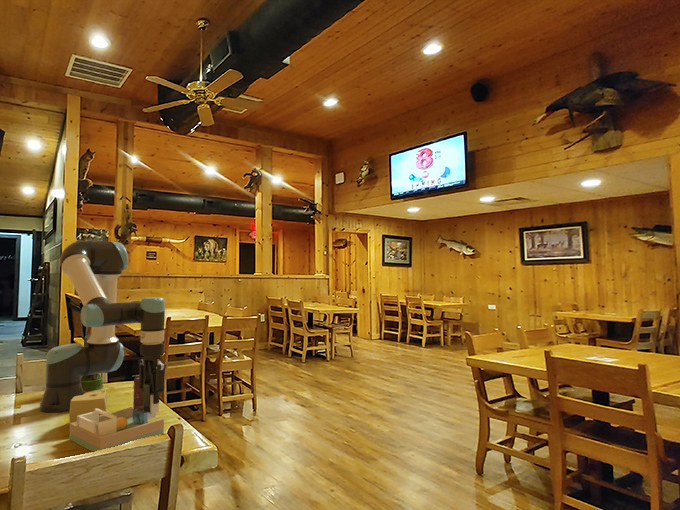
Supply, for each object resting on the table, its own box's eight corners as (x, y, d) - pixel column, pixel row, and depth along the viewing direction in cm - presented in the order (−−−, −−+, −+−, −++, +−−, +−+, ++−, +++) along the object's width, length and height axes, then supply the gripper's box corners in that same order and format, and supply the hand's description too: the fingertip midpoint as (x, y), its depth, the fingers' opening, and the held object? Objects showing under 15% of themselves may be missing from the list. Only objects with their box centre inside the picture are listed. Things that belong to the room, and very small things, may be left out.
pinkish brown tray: (69, 439, 139) (69, 423, 139) (131, 421, 155) (131, 407, 155) (100, 455, 127) (100, 438, 127) (163, 434, 143) (163, 419, 143)
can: (145, 418, 158) (145, 379, 158) (129, 417, 159) (130, 378, 160) (155, 413, 164) (156, 375, 164) (140, 412, 165) (141, 374, 166)
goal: (76, 435, 137) (77, 413, 137) (96, 429, 142) (97, 408, 142) (95, 445, 130) (96, 421, 130) (116, 438, 135) (116, 416, 135)
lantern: (109, 388, 196) (111, 320, 197) (84, 393, 188) (86, 323, 189) (94, 383, 205) (95, 318, 205) (69, 388, 196) (71, 320, 197)
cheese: (73, 421, 155) (74, 392, 155) (108, 417, 159) (108, 389, 159) (68, 431, 145) (69, 401, 145) (105, 427, 149) (106, 397, 150)
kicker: (132, 421, 149) (133, 384, 149) (149, 416, 154) (150, 380, 154) (143, 425, 145) (144, 388, 145) (161, 420, 150) (161, 384, 150)
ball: (111, 430, 141) (111, 417, 141) (123, 426, 145) (123, 414, 145) (117, 433, 139) (117, 420, 139) (129, 429, 142) (130, 416, 142)
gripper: (128, 341, 153) (127, 409, 152) (155, 347, 143) (154, 419, 142) (149, 338, 159) (147, 404, 158) (176, 343, 149) (175, 413, 148)
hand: (150, 411), depth 150 cm, fingers closed on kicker, 3 cm apart
